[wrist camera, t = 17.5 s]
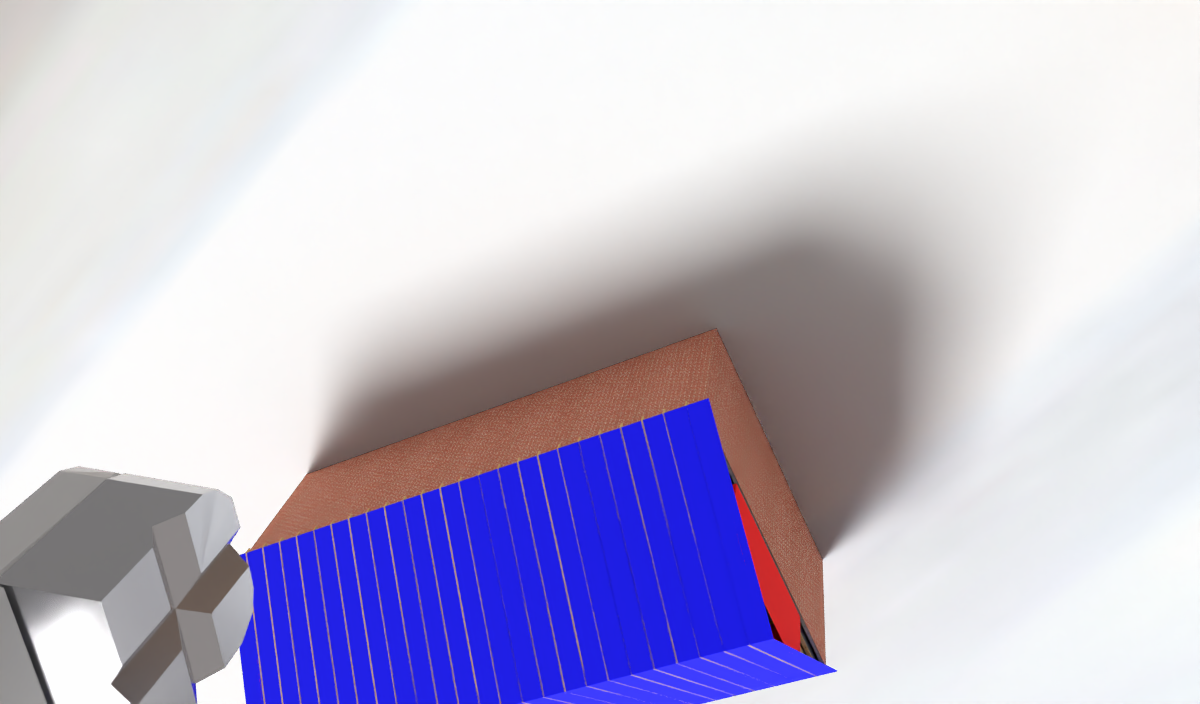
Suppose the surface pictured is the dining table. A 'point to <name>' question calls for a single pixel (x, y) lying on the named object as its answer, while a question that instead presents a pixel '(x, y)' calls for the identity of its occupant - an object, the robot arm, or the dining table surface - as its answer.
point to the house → (547, 555)
